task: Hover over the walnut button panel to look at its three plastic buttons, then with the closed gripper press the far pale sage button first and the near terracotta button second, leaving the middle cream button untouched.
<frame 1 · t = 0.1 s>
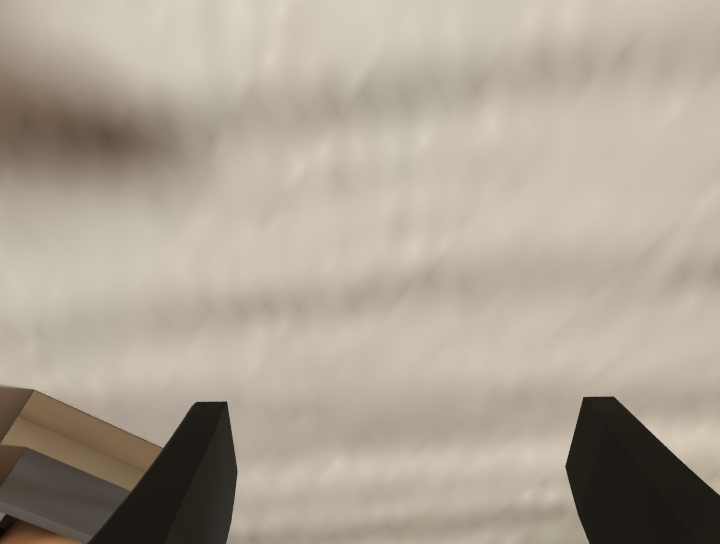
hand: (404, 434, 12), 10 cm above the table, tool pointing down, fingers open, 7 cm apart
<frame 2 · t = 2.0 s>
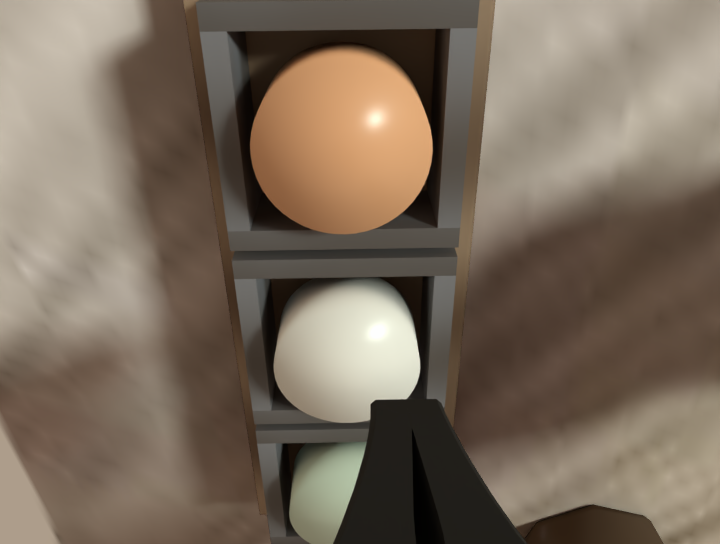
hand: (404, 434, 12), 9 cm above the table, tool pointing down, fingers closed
cream button: (347, 348, 18), point 4 cm above the table, slide at 0.0 cm
sage button: (350, 491, 21), point 4 cm above the table, slide at 0.0 cm
button panel: (347, 278, 21), on the table
terracotta button: (342, 139, 15), point 4 cm above the table, slide at 0.0 cm
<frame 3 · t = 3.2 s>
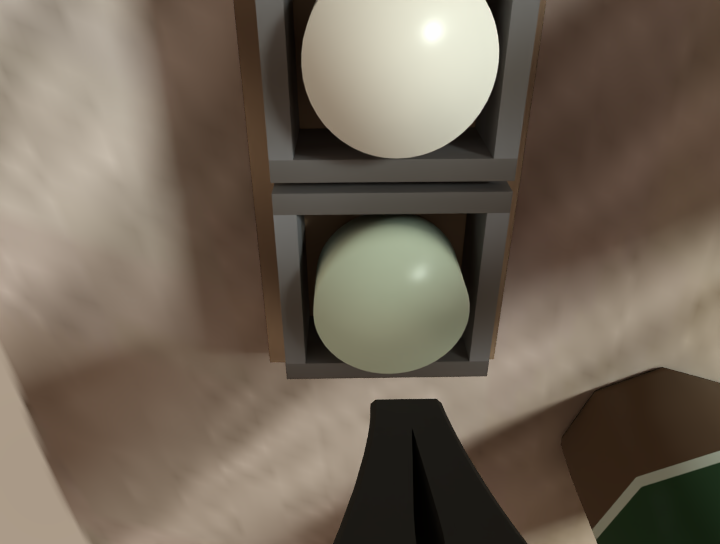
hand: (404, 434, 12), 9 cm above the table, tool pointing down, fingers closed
cream button: (396, 54, 14), point 4 cm above the table, slide at 0.0 cm
sage button: (389, 293, 17), point 4 cm above the table, slide at 0.0 cm
beer bottle: (644, 428, 26), on the table
button panel: (386, 25, 17), on the table
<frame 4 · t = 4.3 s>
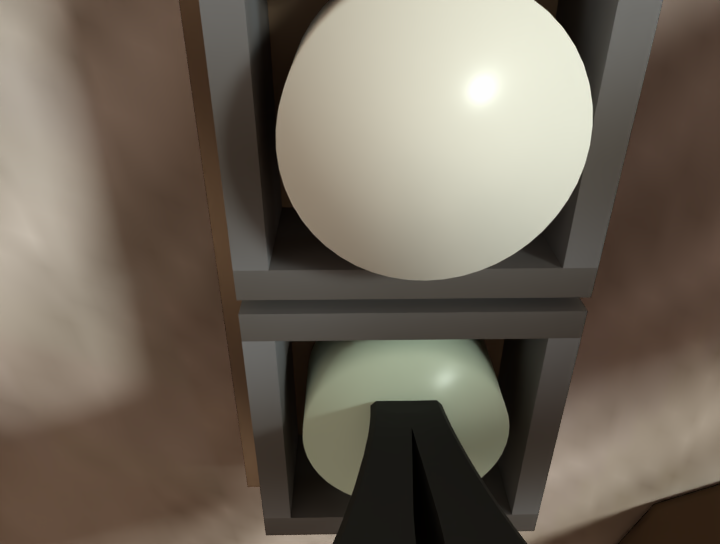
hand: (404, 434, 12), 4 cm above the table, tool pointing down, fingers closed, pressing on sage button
cream button: (425, 124, 9), point 4 cm above the table, slide at 0.0 cm
sage button: (401, 402, 13), point 3 cm above the table, slide at 1.0 cm, touching gripper
beer bottle: (710, 542, 21), on the table
button panel: (403, 64, 12), on the table
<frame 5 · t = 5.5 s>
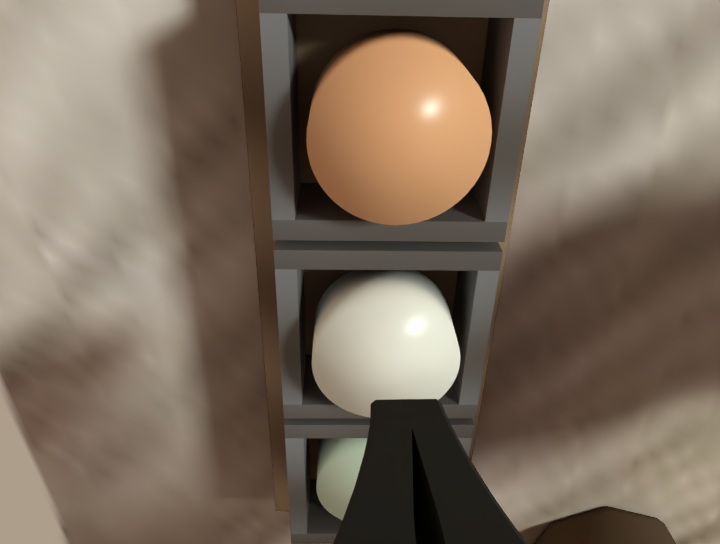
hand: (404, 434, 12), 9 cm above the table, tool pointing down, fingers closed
cream button: (384, 342, 18), point 4 cm above the table, slide at 0.0 cm
sage button: (374, 465, 22), point 3 cm above the table, slide at 1.0 cm
button panel: (377, 272, 21), on the table
terracotta button: (395, 128, 14), point 4 cm above the table, slide at 0.0 cm
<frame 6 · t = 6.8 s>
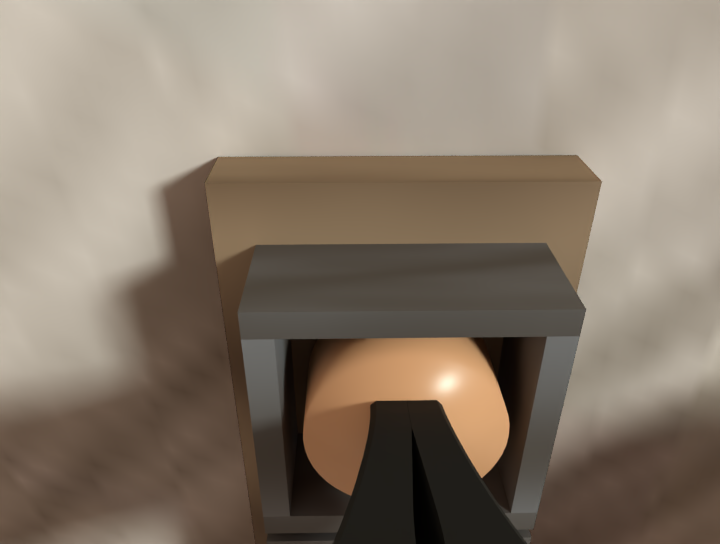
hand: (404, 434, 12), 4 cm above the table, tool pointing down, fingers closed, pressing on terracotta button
button panel: (386, 487, 19), on the table
terracotta button: (402, 403, 13), point 3 cm above the table, slide at 1.0 cm, touching gripper
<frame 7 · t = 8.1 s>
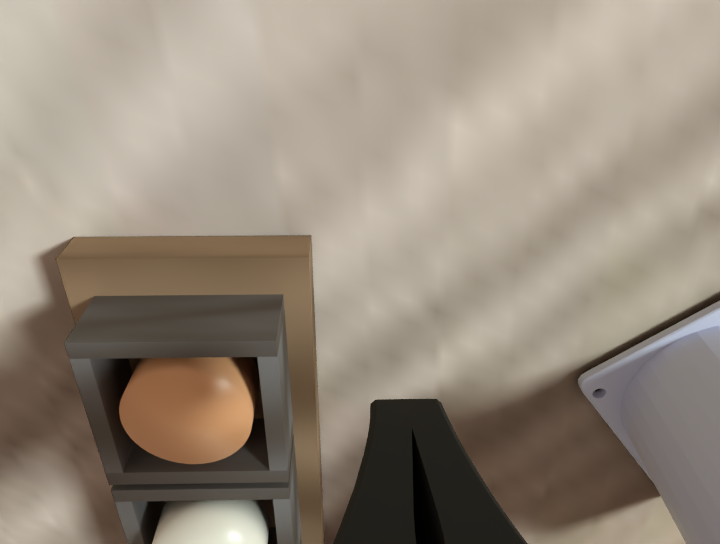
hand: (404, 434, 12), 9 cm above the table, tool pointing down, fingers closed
button panel: (228, 460, 26), on the table
terracotta button: (193, 397, 20), point 3 cm above the table, slide at 1.0 cm
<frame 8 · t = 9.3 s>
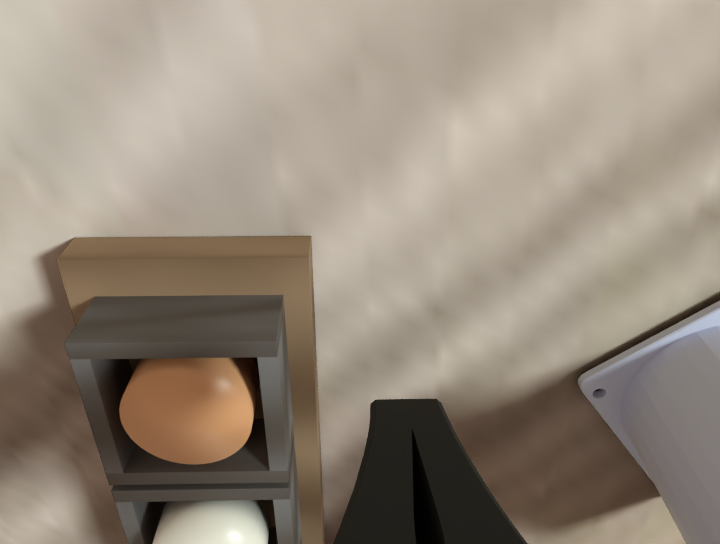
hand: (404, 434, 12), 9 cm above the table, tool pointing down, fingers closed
button panel: (229, 460, 26), on the table
terracotta button: (193, 397, 20), point 3 cm above the table, slide at 1.0 cm
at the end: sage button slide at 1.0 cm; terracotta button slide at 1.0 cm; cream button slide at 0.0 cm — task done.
